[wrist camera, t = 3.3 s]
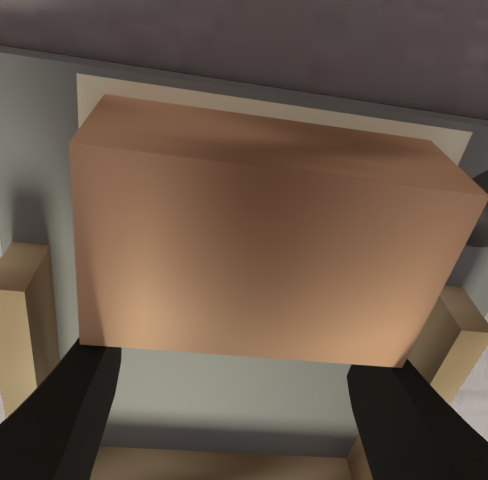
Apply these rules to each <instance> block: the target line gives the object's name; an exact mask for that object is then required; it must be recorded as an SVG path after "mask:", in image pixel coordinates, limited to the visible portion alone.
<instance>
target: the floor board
mask: <svg viewBox="0 0 488 480" xmlns="http://www.w3.org/2000/svg"><path fill="white" fill-rule="evenodd" d="M104 94H109V95H116V96H123V97H130V98H137V99H144V100H151V101H158V102H165V103H172V104H179V105H186V106H193V107H200V108H207V109H214V110H221V111H228V112H235V113H243V114H250V115H257V116H264V117H271V118H278V119H285V120H292V121H299V122H306V123H313V124H320V125H327V126H334V127H341V128H348V129H355V130H362V131H369V132H376V133H383V134H390V135H397V136H404V137H411V138H418V139H425V140H431V141H432V142H433V143H434V144H435V145H436V146H437V147H438V148H439V149H440V150H441V151H442V152H444V153H445V154H446V155H447V156H448V157H449V158H450V159H451V160H452V161H453V162H454V163H455V164H456V165H457V166H458V167H459V168H461V169H462V170H463V171H464V172H465V173H466V174H467V175H468V176H469V177H470V178H471V179H472V180H473V181H474V182H475V183H476V184H477V185H479V186H480V187H481V188H482V189H483V190H484V191H485V192H486V193H487V194H488V120H483V119H477V118H470V117H464V116H457V115H450V114H444V113H437V112H431V111H424V110H418V109H411V108H405V107H398V106H392V105H385V104H379V103H372V102H366V101H359V100H353V99H346V98H340V97H333V96H327V95H320V94H314V93H307V92H301V91H294V90H288V89H281V88H275V87H268V86H262V85H255V84H249V83H242V82H236V81H229V80H223V79H216V78H210V77H203V76H197V75H190V74H184V73H177V72H171V71H164V70H158V69H151V68H145V67H138V66H132V65H125V64H119V63H112V62H106V61H99V60H93V59H86V58H80V57H73V56H66V55H60V54H53V53H47V52H40V51H34V50H27V49H21V48H14V47H8V46H1V45H0V240H1V246H2V253H3V254H4V253H5V251H6V250H7V248H8V247H9V245H10V244H11V242H21V243H31V244H41V245H50V252H51V264H52V275H53V287H54V298H55V310H56V321H57V333H58V345H59V356H60V361H61V359H62V358H63V357H64V356H65V354H66V353H67V352H68V351H69V349H70V348H71V347H72V346H73V344H74V343H75V342H76V340H77V339H78V338H79V322H78V304H77V286H76V267H75V249H74V231H73V213H72V195H71V176H70V158H69V141H70V140H71V139H72V137H73V136H74V135H75V133H76V132H77V131H78V129H79V128H80V127H81V125H82V124H83V122H84V121H85V120H86V118H87V117H88V116H89V114H90V113H91V112H92V110H93V109H94V107H95V106H96V105H97V103H98V102H99V101H100V99H101V98H102V97H103V95H104ZM445 285H446V286H456V287H463V289H464V290H465V292H466V293H467V295H468V296H469V297H470V299H471V300H472V302H473V303H474V304H475V306H476V307H477V309H478V310H479V312H480V313H481V314H482V316H483V317H485V315H486V314H487V312H488V201H487V203H486V205H485V207H484V209H483V211H482V213H481V215H480V217H479V219H478V221H477V223H476V225H475V227H474V229H473V231H472V233H471V235H470V237H469V238H468V240H467V242H466V244H465V246H464V248H463V250H462V252H461V254H460V256H459V258H458V260H457V262H456V264H455V266H454V268H453V270H452V272H451V274H450V276H449V278H448V279H447V281H446V283H445ZM350 366H351V364H341V363H327V362H314V361H300V360H286V359H273V358H259V357H245V356H231V355H218V354H204V353H190V352H177V351H163V350H149V349H136V348H122V353H121V365H120V371H119V376H118V382H117V387H116V392H115V396H114V400H113V403H112V406H111V410H110V413H109V416H108V420H107V423H106V426H105V430H104V433H103V436H102V440H101V443H100V447H121V448H142V449H164V450H185V451H206V452H227V453H248V454H269V455H291V456H312V457H333V458H347V456H348V454H349V452H350V450H351V448H352V446H353V444H354V442H355V440H356V438H357V436H358V434H359V432H358V428H357V425H356V422H355V418H354V415H353V411H352V407H351V402H350V396H349V390H348V383H347V377H346V376H347V374H348V371H349V369H350Z"/></svg>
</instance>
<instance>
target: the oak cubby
mask: <svg viewBox="0 0 488 480" xmlns="http://www.w3.org/2000/svg"><path fill="white" fill-rule="evenodd" d="M487 345H488V323H487V321H486V320H485V319H484V317H483V316H482V314H481V313H480V312H479V310H478V309H477V307H476V306H475V304H474V303H473V302H472V300H471V299H470V297H469V296H468V295H467V293H466V292H465V290H464V289H463V287H456V286H446V285H444V287H443V289H442V291H441V293H440V295H439V297H438V299H437V301H436V303H435V305H434V307H433V309H432V311H431V313H430V315H429V317H428V318H427V320H426V322H425V324H424V326H423V328H422V330H421V332H420V334H419V336H418V338H417V340H416V342H415V344H414V346H413V348H412V350H411V352H410V354H409V356H408V358H407V359H408V360H409V361H410V362H411V363H412V365H413V366H414V367H415V368H416V369H417V370H418V371H419V373H420V374H421V375H422V376H423V377H424V378H425V379H426V381H427V382H428V383H429V384H430V385H431V386H432V387H433V388H434V389H435V390H436V392H437V393H438V394H439V395H440V396H441V397H442V398H443V399H444V400H445V401H446V402H447V403H448V404H450V403H451V401H452V400H453V398H454V397H455V395H456V393H457V392H458V390H459V389H460V387H461V386H462V384H463V383H464V381H465V379H466V378H467V376H468V375H469V373H470V372H471V370H472V368H473V367H474V365H475V364H476V362H477V361H478V359H479V357H480V356H481V354H482V353H483V351H484V350H485V348H486V347H487ZM59 362H60V356H59V345H58V333H57V321H56V310H55V298H54V287H53V275H52V264H51V252H50V245H41V244H31V243H21V242H11V244H10V245H9V247H8V248H7V250H6V251H5V253H4V254H3V256H2V257H1V259H0V389H1V394H2V399H3V404H4V409H5V414H6V418H7V417H8V416H9V415H10V414H11V413H13V412H14V411H15V410H16V409H17V408H18V407H19V406H20V405H21V404H22V403H23V402H24V401H25V400H26V399H27V398H28V397H29V396H30V395H31V394H32V392H33V391H34V390H35V389H36V388H37V387H38V386H39V385H40V384H41V383H42V381H43V380H44V379H45V378H46V377H47V376H48V375H49V374H50V373H51V371H52V370H53V369H54V368H55V367H56V366H57V364H58V363H59ZM90 480H373V478H372V475H371V471H370V468H369V465H368V461H367V458H366V455H365V452H364V448H363V445H362V442H361V438H360V435H359V434H358V436H357V438H356V440H355V442H354V444H353V446H352V448H351V450H350V452H349V454H348V456H347V458H333V457H312V456H291V455H269V454H248V453H227V452H206V451H185V450H164V449H142V448H121V447H100V446H99V449H98V453H97V456H96V459H95V463H94V466H93V469H92V473H91V477H90Z"/></svg>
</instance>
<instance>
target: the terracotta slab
mask: <svg viewBox="0 0 488 480" xmlns="http://www.w3.org/2000/svg"><path fill="white" fill-rule="evenodd" d="M69 158H70V176H71V195H72V213H73V231H74V249H75V267H76V286H77V304H78V322H79V340H80V344H81V345H94V346H108V347H122V348H136V349H149V350H163V351H177V352H190V353H204V354H218V355H231V356H245V357H259V358H273V359H286V360H300V361H314V362H327V363H341V364H355V365H368V366H382V367H396V368H402V367H403V365H404V363H405V361H406V359H407V358H408V356H409V354H410V352H411V350H412V348H413V346H414V344H415V342H416V340H417V338H418V336H419V334H420V332H421V330H422V328H423V326H424V324H425V322H426V320H427V318H428V317H429V315H430V313H431V311H432V309H433V307H434V305H435V303H436V301H437V299H438V297H439V295H440V293H441V291H442V289H443V287H444V285H445V283H446V281H447V279H448V278H449V276H450V274H451V272H452V270H453V268H454V266H455V264H456V262H457V260H458V258H459V256H460V254H461V252H462V250H463V248H464V246H465V244H466V242H467V240H468V238H469V237H470V235H471V233H472V231H473V229H474V227H475V225H476V223H477V221H478V219H479V217H480V215H481V213H482V211H483V209H484V207H485V205H486V203H487V201H488V194H487V193H486V192H485V191H484V190H483V189H482V188H481V187H480V186H479V185H477V184H476V183H475V182H474V181H473V180H472V179H471V178H470V177H469V176H468V175H467V174H466V173H465V172H464V171H463V170H462V169H461V168H459V167H458V166H457V165H456V164H455V163H454V162H453V161H452V160H451V159H450V158H449V157H448V156H447V155H446V154H445V153H444V152H442V151H441V150H440V149H439V148H438V147H437V146H436V145H435V144H434V143H433V142H432V141H431V140H425V139H418V138H411V137H404V136H397V135H390V134H383V133H376V132H369V131H362V130H355V129H348V128H341V127H334V126H327V125H320V124H313V123H306V122H299V121H292V120H285V119H278V118H271V117H264V116H257V115H250V114H243V113H235V112H228V111H221V110H214V109H207V108H200V107H193V106H186V105H179V104H172V103H165V102H158V101H151V100H144V99H137V98H130V97H123V96H116V95H109V94H104V95H103V97H102V98H101V99H100V101H99V102H98V103H97V105H96V106H95V107H94V109H93V110H92V112H91V113H90V114H89V116H88V117H87V118H86V120H85V121H84V122H83V124H82V125H81V127H80V128H79V129H78V131H77V132H76V133H75V135H74V136H73V137H72V139H71V140H70V141H69Z"/></svg>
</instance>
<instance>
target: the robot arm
mask: <svg viewBox="0 0 488 480" xmlns="http://www.w3.org/2000/svg"><path fill="white" fill-rule="evenodd" d="M121 353H122V347H108V346H94V345H81V344H80V340H79V338H78V339H77V340H76V342H75V343H74V344H73V346H72V347H71V348H70V349H69V351H68V352H67V353H66V354H65V356H64V357H63V358H62V359H61V361H60V362H59V363H58V364H57V366H56V367H55V368H54V369H53V370H52V371H51V373H50V374H49V375H48V376H47V377H46V378H45V379H44V380H43V381H42V383H41V384H40V385H39V386H38V387H37V388H36V389H35V390H34V391H33V392H32V394H31V395H30V396H29V397H28V398H27V399H26V400H25V401H24V402H23V403H22V404H21V405H20V406H19V407H18V408H17V409H16V410H15V411H14V412H13V413H11V414H10V415H9V416H8V417H7V418H6V419H5V420H4V421H3V422H2V423H1V424H0V480H90V477H91V473H92V469H93V466H94V463H95V459H96V456H97V453H98V449H99V446H100V443H101V440H102V436H103V433H104V430H105V426H106V423H107V420H108V416H109V413H110V410H111V406H112V403H113V400H114V396H115V392H116V387H117V382H118V376H119V371H120V365H121ZM346 377H347V383H348V390H349V396H350V402H351V407H352V411H353V415H354V418H355V422H356V425H357V428H358V432H359V435H360V438H361V442H362V445H363V448H364V452H365V455H366V458H367V461H368V465H369V468H370V471H371V475H372V478H373V480H488V442H487V441H486V440H485V439H484V438H483V437H482V436H481V435H480V434H478V433H477V432H476V431H475V430H474V429H473V428H472V427H471V426H470V425H469V424H468V423H467V422H466V421H465V420H464V419H463V418H462V417H461V416H460V415H459V414H458V413H457V412H456V411H455V410H454V409H453V408H452V407H451V406H450V405H449V404H448V403H447V402H446V401H445V400H444V399H443V398H442V397H441V396H440V395H439V394H438V393H437V392H436V390H435V389H434V388H433V387H432V386H431V385H430V384H429V383H428V382H427V381H426V379H425V378H424V377H423V376H422V375H421V374H420V373H419V371H418V370H417V369H416V368H415V367H414V366H413V365H412V363H411V362H410V361H409V360H408V359H406V361H405V363H404V365H403V367H402V368H396V367H382V366H368V365H355V364H351V366H350V369H349V371H348V374H347V376H346Z"/></svg>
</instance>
